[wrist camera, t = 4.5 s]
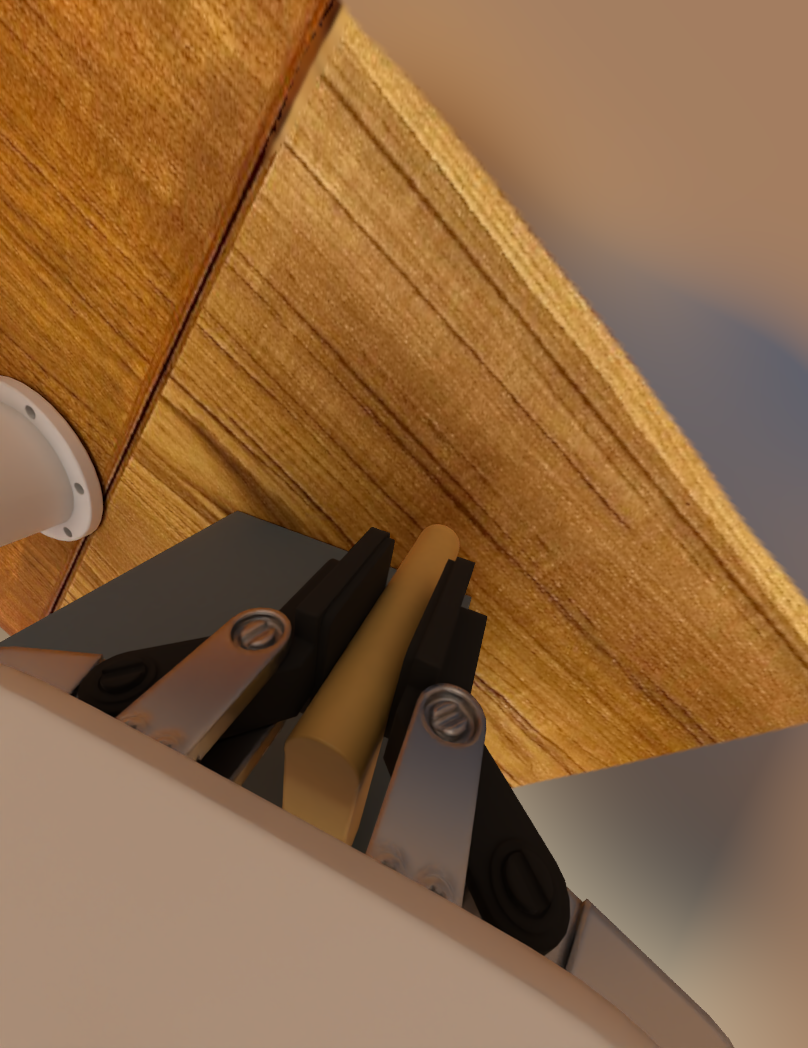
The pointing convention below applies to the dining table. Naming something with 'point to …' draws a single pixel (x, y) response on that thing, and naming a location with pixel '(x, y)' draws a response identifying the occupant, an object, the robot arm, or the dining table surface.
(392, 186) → the dining table surface
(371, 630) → the door
